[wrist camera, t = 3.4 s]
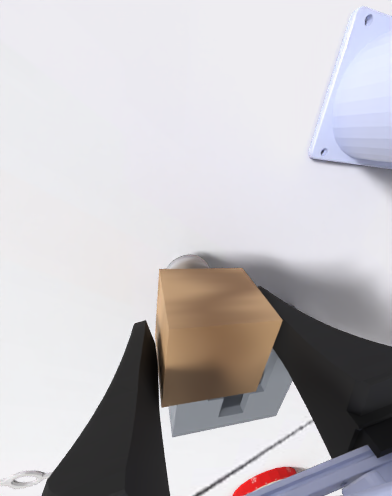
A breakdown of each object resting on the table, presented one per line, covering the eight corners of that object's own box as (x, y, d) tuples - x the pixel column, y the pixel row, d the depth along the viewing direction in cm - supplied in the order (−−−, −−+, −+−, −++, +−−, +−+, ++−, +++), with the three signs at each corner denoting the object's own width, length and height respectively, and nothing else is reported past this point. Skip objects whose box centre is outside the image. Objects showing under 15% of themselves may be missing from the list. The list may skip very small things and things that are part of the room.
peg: (224, 245, 16) (282, 320, 10) (213, 299, 19) (255, 391, 12) (155, 244, 15) (168, 329, 9) (152, 302, 17) (161, 407, 11)
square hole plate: (293, 305, 23) (315, 330, 20) (261, 386, 29) (275, 415, 26) (178, 313, 20) (185, 343, 17) (168, 402, 26) (172, 437, 23)
